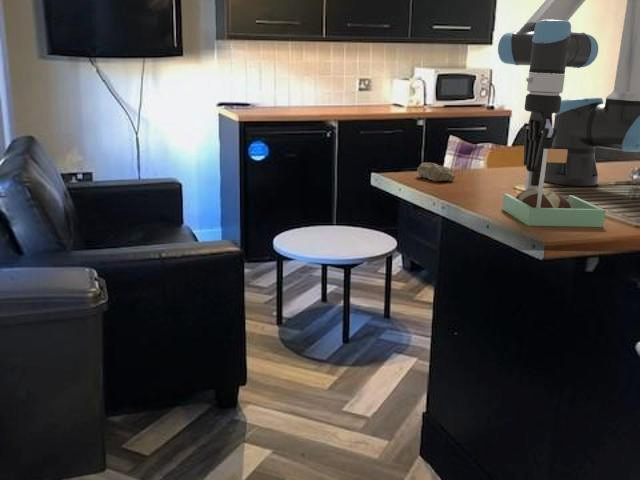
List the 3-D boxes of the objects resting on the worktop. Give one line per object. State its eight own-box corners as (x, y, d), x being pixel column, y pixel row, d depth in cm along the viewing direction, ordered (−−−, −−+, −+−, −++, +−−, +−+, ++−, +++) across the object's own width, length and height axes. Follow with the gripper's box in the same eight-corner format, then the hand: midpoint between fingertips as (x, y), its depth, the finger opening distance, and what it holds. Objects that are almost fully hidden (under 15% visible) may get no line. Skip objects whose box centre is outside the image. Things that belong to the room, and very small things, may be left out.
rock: (438, 184, 181) (439, 168, 180) (411, 177, 190) (413, 161, 189) (459, 182, 185) (461, 166, 183) (432, 175, 194) (434, 160, 193)
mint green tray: (570, 210, 153) (580, 141, 149) (603, 227, 139) (614, 151, 135) (502, 209, 152) (510, 139, 148) (527, 225, 138) (537, 148, 133)
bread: (508, 206, 155) (510, 185, 154) (557, 208, 156) (560, 186, 154) (523, 218, 144) (526, 194, 143) (576, 219, 145) (579, 196, 144)
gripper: (516, 91, 155) (504, 192, 162) (538, 94, 143) (525, 204, 149) (548, 92, 156) (535, 193, 162) (573, 96, 143) (558, 205, 150)
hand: (530, 198), depth 156 cm, fingers closed
